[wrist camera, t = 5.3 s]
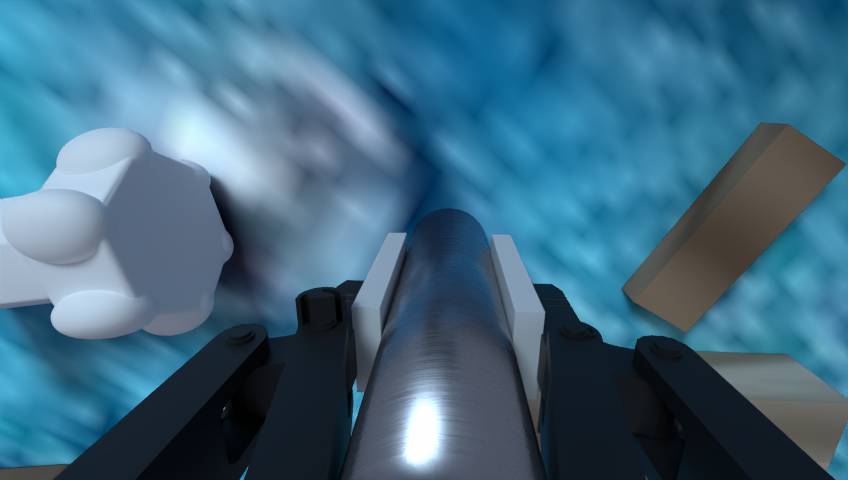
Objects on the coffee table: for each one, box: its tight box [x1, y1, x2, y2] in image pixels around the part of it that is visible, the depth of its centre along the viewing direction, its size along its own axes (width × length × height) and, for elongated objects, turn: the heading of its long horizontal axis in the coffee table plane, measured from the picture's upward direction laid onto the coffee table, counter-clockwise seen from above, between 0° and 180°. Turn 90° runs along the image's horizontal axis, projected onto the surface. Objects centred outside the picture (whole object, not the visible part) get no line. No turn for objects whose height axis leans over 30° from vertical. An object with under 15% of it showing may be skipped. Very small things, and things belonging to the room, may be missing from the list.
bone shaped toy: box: [0, 128, 234, 339], centre depth 17 cm, size 15×9×8 cm, turn 99°
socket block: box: [527, 349, 848, 480], centre depth 20 cm, size 11×14×4 cm
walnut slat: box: [621, 123, 846, 332], centre depth 18 cm, size 9×3×2 cm, turn 150°
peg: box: [338, 208, 548, 480], centre depth 13 cm, size 4×4×14 cm
